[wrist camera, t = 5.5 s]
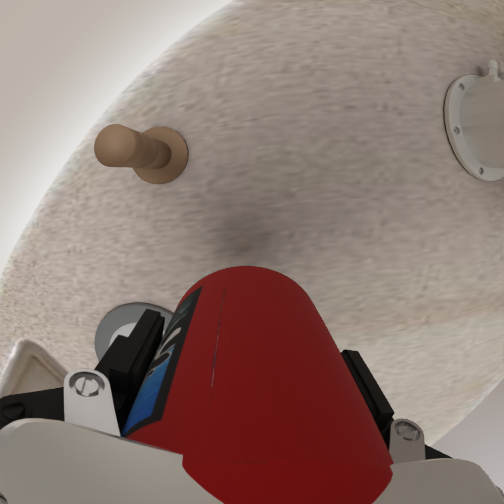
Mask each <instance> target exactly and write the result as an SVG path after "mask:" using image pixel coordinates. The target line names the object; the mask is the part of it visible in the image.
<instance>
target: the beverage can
mask: <svg viewBox="0 0 504 504" xmlns="http://www.w3.org/2000/svg"><path fill="white" fill-rule="evenodd" d="M121 437H124V438H127V439H131V440H134V441H138V442H142V443H145V444H149V445H153V446H157V447H160V448H163V449H167V450H169V451H173V452H176V453H178V454H181V455H183V459H182V466H183V468H184V470H185V471H186V472H187V474H188V475H189V476H190V477H191V478H192V479H193V480H195V481H196V482H197V483H198V484H199V485H200V486H201V487H202V488H203V489H205V490H206V491H207V492H208V493H210V494H211V495H212V496H214V497H215V498H217V499H218V500H219V501H221V502H222V503H224V504H372V503H374V502H375V501H376V499H377V498H378V497H379V496H380V495H381V494H382V493H383V491H384V490H385V489H386V487H387V486H388V484H389V483H390V481H391V479H392V476H393V472H392V470H391V467H390V465H392V464H394V462H393V460H392V457H391V455H390V453H389V451H388V449H387V446H386V444H385V442H384V440H383V438H382V436H381V434H380V431H379V429H378V427H377V425H376V423H375V421H374V419H373V417H372V414H371V412H370V410H369V408H368V406H367V404H366V402H365V400H364V398H363V396H362V394H361V392H360V390H359V388H358V386H357V384H356V382H355V380H354V378H353V376H352V374H351V373H350V371H349V369H348V367H347V365H346V363H345V361H344V359H343V357H342V355H341V353H340V351H339V349H338V348H337V346H336V344H335V342H334V340H333V338H332V336H331V334H330V333H329V331H328V329H327V327H326V325H325V323H324V322H323V320H322V318H321V316H320V315H319V313H318V311H317V309H316V308H315V306H314V304H313V302H312V300H311V299H310V297H309V296H308V294H307V293H306V292H305V291H304V290H303V289H302V288H301V287H300V286H299V285H298V284H297V283H296V282H294V281H293V280H292V279H290V278H289V277H287V276H285V275H283V274H281V273H279V272H276V271H273V270H270V269H266V268H262V267H255V266H237V267H231V268H226V269H222V270H219V271H216V272H214V273H212V274H209V275H207V276H206V277H204V278H202V279H201V280H199V281H198V282H197V283H195V284H194V285H193V286H192V287H191V288H190V289H189V290H188V291H187V292H186V293H185V295H184V296H183V297H182V299H181V300H180V302H179V304H178V306H177V308H176V310H175V312H174V314H173V316H172V318H171V320H170V322H169V325H168V327H167V329H166V331H165V333H164V335H163V337H162V340H161V342H160V344H159V346H158V348H157V350H156V353H155V355H154V357H153V359H152V361H151V364H150V366H149V368H148V371H147V373H146V375H145V378H144V380H143V383H142V385H141V387H140V390H139V392H138V394H137V397H136V399H135V402H134V404H133V407H132V409H131V411H130V414H129V416H128V419H127V421H126V424H125V427H124V429H123V432H122V435H121Z"/></svg>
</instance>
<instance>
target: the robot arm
mask: <svg viewBox="0 0 504 504" xmlns="http://www.w3.org/2000/svg"><path fill="white" fill-rule="evenodd" d="M497 73H498V63H497V61H495V60H493V59H489V60H488V74H487V75H486V76H485V77H481V76H478V75H466V76H462V77H460V78H458V79H456V80H455V81H454V82H453V83H452V84H451V86H450V88H449V90H448V92H447V95H446V99H445V107H444V111H445V124H446V130H447V134H448V137H449V141H450V143H451V146H452V148H453V151H454V153H455V155H456V156H457V158H458V160H459V161H460V163H461V164H462V166H463V167H464V168H465V169H466V170H467V171H468V172H469V173H470V174H471V175H473V176H474V177H476V178H478V179H480V180H483V181H497V180H499V179H501V178H503V177H504V61H502V62H500V63H499V76H500V78H499V77H498V76H497ZM164 324H165V317H163V316H161V312H158V311H155V310H151V309H146V310H145V311H144V313H143V315H142V316H141V318H140V319H139V321H138V322H137V324H136V325H135V327H134V329H133V330H132V332H131V333H130V335H129V336H128V337H126V336H123V335H118V336H117V337H116V338H115V340H114V341H113V343H112V344H111V345H110V347H109V348H108V350H107V351H106V353H105V354H104V356H103V357H102V359H101V360H100V362H99V363H98V365H97V366H96V368H95V369H94V370H93V369H87V368H83V369H76V370H73V371H71V372H70V373H68V374H67V376H66V377H65V380H64V387H61V388H55V389H49V390H43V391H36V392H29V393H22V394H15V395H8V396H5V397H2V398H1V399H0V504H224V503H222V502H221V501H219V500H218V499H217V498H215V497H214V496H212V495H211V494H210V493H208V492H207V491H206V490H205V489H203V488H202V487H201V486H200V485H199V484H198V483H197V482H196V481H195V480H193V479H192V478H191V477H190V476H189V475H188V474H187V472H186V471H185V470H184V468H183V466H182V459H183V455H181V454H178V453H176V452H173V451H169V450H167V449H163V448H160V447H157V446H153V445H149V444H145V443H142V442H138V441H134V440H131V439H127V438H124V437H121V435H122V432H123V429H124V427H125V424H126V421H127V419H128V416H129V414H130V411H131V409H132V407H133V404H134V402H135V399H136V397H137V394H138V392H139V390H140V387H141V385H142V383H143V380H144V378H145V375H146V373H147V371H148V368H149V366H150V364H151V361H152V359H153V357H154V355H155V353H156V350H157V348H158V346H159V344H160V342H161V340H162V337H163V330H164ZM340 353H341V355H342V357H343V359H344V361H345V363H346V365H347V367H348V369H349V371H350V373H351V374H352V376H353V378H354V380H355V382H356V384H357V386H358V388H359V390H360V392H361V394H362V396H363V398H364V400H365V402H366V404H367V406H368V408H369V410H370V412H371V414H372V417H373V419H374V421H375V423H376V425H377V427H378V429H379V431H380V434H381V436H382V438H383V440H384V442H385V444H386V446H387V449H388V451H389V453H390V455H391V457H392V460H393V462H394V464H392V465H390V467H391V470H392V472H393V476H392V479H391V481H390V483H389V484H388V486H387V487H386V489H385V490H384V491H383V493H382V494H381V495H380V496H379V497H378V498H377V499H376V501H375V502H374V503H372V504H504V494H503V492H502V490H501V489H500V488H499V487H497V486H496V485H495V484H494V483H493V482H492V480H491V479H490V477H489V476H488V475H487V474H486V473H485V471H484V470H483V469H482V468H481V467H480V466H479V465H477V464H476V463H473V462H470V461H467V460H461V459H454V458H452V457H450V456H448V455H445V454H443V453H441V452H439V451H437V450H435V449H433V448H431V447H429V446H427V445H425V443H424V434H423V431H422V429H421V428H420V427H419V426H418V425H417V424H416V423H414V422H413V421H410V420H408V419H396V420H394V419H393V418H392V416H393V415H394V411H393V409H392V408H391V406H390V404H389V402H388V401H387V399H386V397H385V396H384V394H383V392H382V391H381V389H380V387H379V385H378V384H377V382H376V380H375V379H374V377H373V375H372V374H371V372H370V370H369V369H368V367H367V365H366V364H365V362H364V361H363V359H362V357H361V356H360V354H359V352H358V351H352V350H343V351H342V352H340ZM6 501H7V502H8V503H7V502H6Z"/></svg>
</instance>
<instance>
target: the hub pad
mask: <svg viewBox="0 0 504 504" xmlns="http://www.w3.org/2000/svg"><path fill="white" fill-rule="evenodd" d="M146 309H151V310H155V311H158V312H161V316H163V317H165V324H164V330H163V335H164V333H165V331H166V329H167V327H168V325H169V322H170V320H171V318H172V316H173V314H174V313H172V312H170V311H169V310H166V309H164V308H162V307H159V306H156V305H152V304H147V303H130V304H125V305H122V306H119V307H117V308H115V309H113V310H112V311H111V312H109V313H108V314H107V315H106V316H105V317H104V319H103V320H102V321H101V323H100V324H99V326H98V328H97V331H96V335H95V350H96V354H97V357H98V360H99V362H100V360H101V359H102V357H103V356H104V354H105V353H106V351H107V350H108V348H109V347H110V345H111V344H112V343H113V341H114V340H115V338H116V337H117V336H118V335H123V336H126V337H128V336H129V335H130V333H131V332H132V330H133V329H134V327H135V325H136V324H137V322H138V321H139V319H140V318H141V316H142V315H143V313H144V311H145V310H146Z"/></svg>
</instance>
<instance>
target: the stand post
mask: <svg viewBox="0 0 504 504" xmlns="http://www.w3.org/2000/svg"><path fill="white" fill-rule="evenodd" d="M94 151H95V155H96V157H97V159H98V161H99V162H100V163H101V164H103V165H105V166H108V167H131V168H133V169H134V171H135V172H136V174H137V175H138V176H139V177H140V178H141V179H143V180H144V181H146V182H149V183H153V184H161V183H167V182H170V181H172V180H174V179H175V178H177V177H178V176H179V175H180V174H181V173H182V172H183V170H184V168H185V166H186V164H187V161H188V148H187V145H186V142H185V140H184V139H183V138H182V136H181V135H180V134H178V133H177V132H175V131H174V130H172V129H170V128H167V127H154V128H151V129H149V130H147V131H145V132H144V133H140V132H137V131H135V130H132V129H130V128H127V127H125V126H122V125H119V124H113V125H109V126H107V127H105V128H104V129H103V130H102V131H101V132H100V133H99V134H98V136H97V138H96V140H95V145H94Z"/></svg>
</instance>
